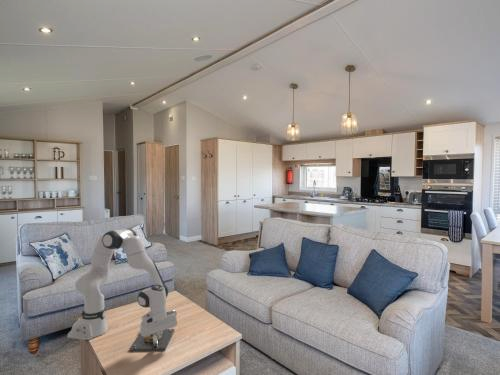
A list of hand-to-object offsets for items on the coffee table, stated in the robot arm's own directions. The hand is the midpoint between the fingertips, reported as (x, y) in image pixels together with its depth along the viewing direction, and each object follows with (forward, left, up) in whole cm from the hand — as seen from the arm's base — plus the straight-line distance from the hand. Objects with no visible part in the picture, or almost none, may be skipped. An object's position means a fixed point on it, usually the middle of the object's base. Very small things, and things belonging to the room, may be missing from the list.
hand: (159, 338), depth 166 cm
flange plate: (-6, +7, -6) cm, 11 cm away
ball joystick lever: (-5, +5, -4) cm, 8 cm away
